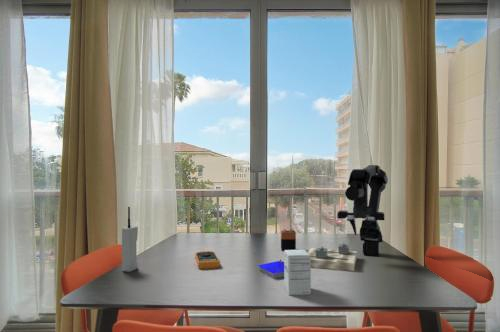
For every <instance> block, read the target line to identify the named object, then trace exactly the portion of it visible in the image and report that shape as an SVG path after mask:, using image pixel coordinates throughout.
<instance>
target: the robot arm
mask: <svg viewBox="0 0 500 332" xmlns="http://www.w3.org/2000/svg"><path fill="white" fill-rule="evenodd" d="M388 179H389V178H388V176H387V172H386V171H384V170H383V169H381V167H380V165H378V164H377V165H375V164H369V165H367V166H366V167H363V168H357V169H355V168H353V169H352V171H351V172H350V175H349V178H348V181H347V186H349V187H347V188H345V193H344V195H345V197H346V198H347V200H349V201H352V202H353V208H352V212H349V211H348V210H339V211H338V212H337V214H336V215H337V219H342V220H343V219H346V222H347V221H348V222H349V223H350V225H351V228H352V230H353V233H354V236H357V227H356V219H363V220H362V221H361V226H360V227H359V239H360V241H361V242H362V241H363V243H362V254H363V255H364V256H370V257H380V252H379V251H380V248H379V247H380V245H379V244H380V243H383V242H384V241H383V234H382V231H381V229H380V228H381V227H380V225H379V223H378V221H385V212H383V211H379V210H380V209H379V208H380V205H381V204H380V203H381V194H382V193H383V192H384V190H385V189H386V187H387V184H388ZM369 189H370V195H369V194H368V191H369ZM368 195H369V197H368ZM368 198H369V199H368Z"/></svg>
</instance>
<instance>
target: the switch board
mask: <svg viewBox="0 0 500 332" xmlns="http://www.w3.org/2000/svg"><path fill="white" fill-rule="evenodd" d="M317 248H318V247H317ZM317 248H316V247H311V248H310V249H309V250H308V251H307V252H308V253H309V254H310V256H311V268H314V269H315V268H316V269H327V270H337V271H348V272H354V271H355V267H356V264H357V259H358V258H357V257H358V254H357V253H358V251H356V250H349V254H339V249H331V248H330V249H329V248H327V257H326V259H323V258H316V249H317Z"/></svg>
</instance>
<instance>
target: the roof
mask: <svg viewBox="0 0 500 332" xmlns="http://www.w3.org/2000/svg"><path fill="white" fill-rule="evenodd" d="M256 266H257V267H258V268H259V271H260V272H261V273H263V274H265V275H267V276H269V277H271V278H273V279H278V278H284V260H283V261H282V259H279V260H277V261H272V262H268V263H262V264H257V265H256Z"/></svg>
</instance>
